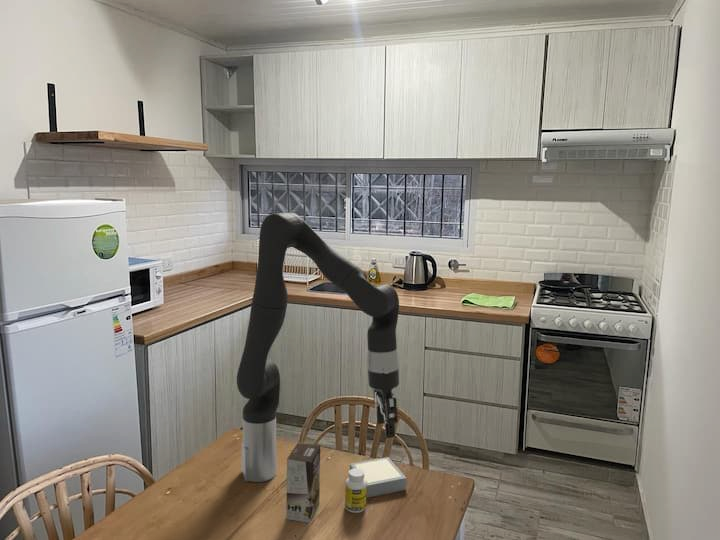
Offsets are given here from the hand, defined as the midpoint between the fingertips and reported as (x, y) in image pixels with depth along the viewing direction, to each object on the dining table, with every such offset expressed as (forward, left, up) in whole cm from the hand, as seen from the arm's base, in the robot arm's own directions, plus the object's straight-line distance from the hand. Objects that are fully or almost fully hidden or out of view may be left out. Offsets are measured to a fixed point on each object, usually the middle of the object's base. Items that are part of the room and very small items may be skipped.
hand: (385, 429), depth 134 cm
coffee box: (-19, +7, -22) cm, 30 cm away
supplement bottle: (-6, +4, -22) cm, 23 cm away
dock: (+4, +13, -22) cm, 26 cm away
